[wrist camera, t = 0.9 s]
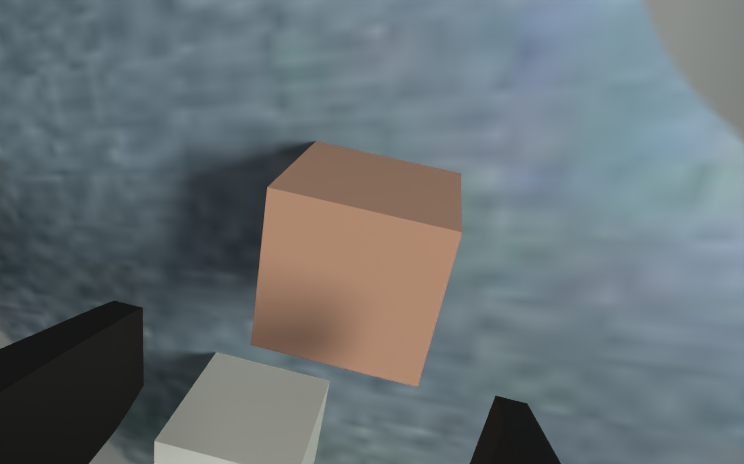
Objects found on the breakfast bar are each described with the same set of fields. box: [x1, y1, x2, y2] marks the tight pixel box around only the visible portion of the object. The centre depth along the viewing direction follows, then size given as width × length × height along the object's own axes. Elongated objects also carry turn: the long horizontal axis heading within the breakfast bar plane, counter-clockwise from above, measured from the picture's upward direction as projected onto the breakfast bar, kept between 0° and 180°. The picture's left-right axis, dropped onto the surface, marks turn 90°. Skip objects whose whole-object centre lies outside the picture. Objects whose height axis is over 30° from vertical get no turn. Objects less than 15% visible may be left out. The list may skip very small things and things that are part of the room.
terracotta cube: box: [251, 141, 462, 387], centre depth 16 cm, size 5×5×5 cm
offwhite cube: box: [154, 352, 330, 464], centre depth 20 cm, size 5×5×5 cm
